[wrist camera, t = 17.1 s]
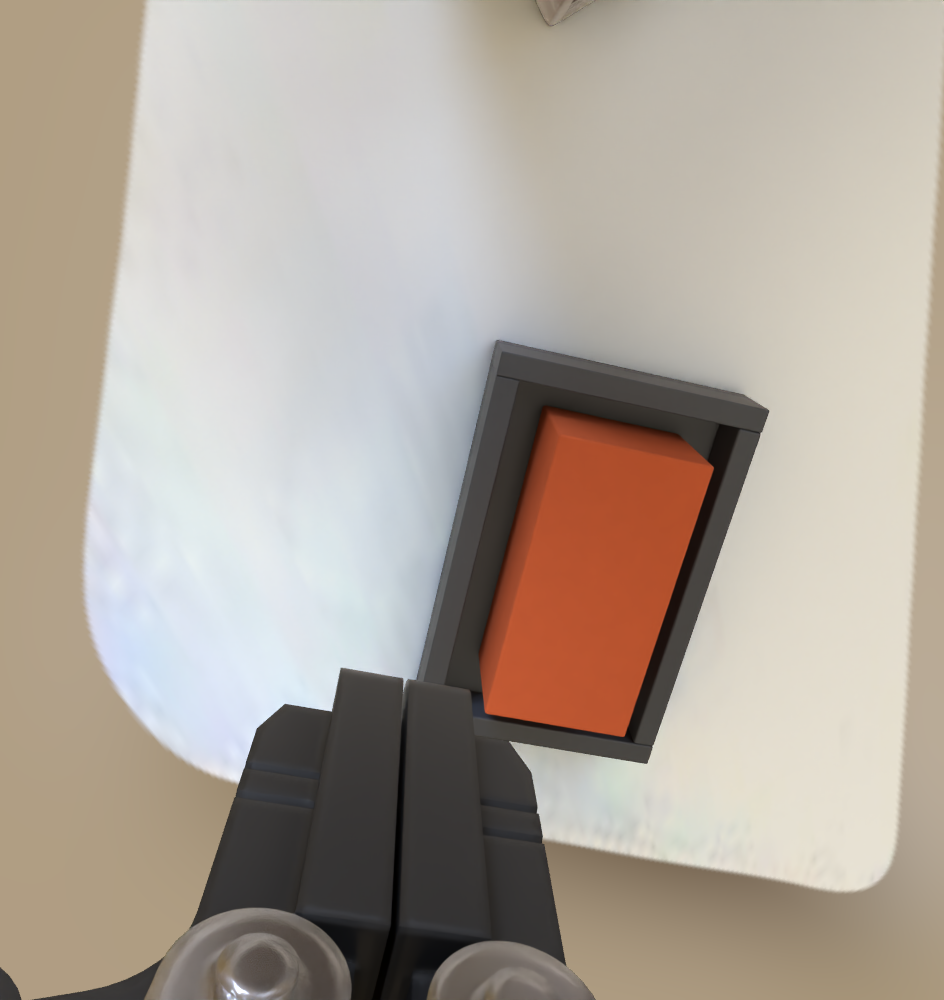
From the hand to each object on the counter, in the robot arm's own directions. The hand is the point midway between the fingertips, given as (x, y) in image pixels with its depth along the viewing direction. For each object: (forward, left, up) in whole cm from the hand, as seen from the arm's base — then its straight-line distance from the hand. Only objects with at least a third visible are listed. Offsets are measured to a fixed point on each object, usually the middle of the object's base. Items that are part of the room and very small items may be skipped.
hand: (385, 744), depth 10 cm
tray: (+5, +7, -21) cm, 23 cm away
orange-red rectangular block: (+5, +7, -20) cm, 22 cm away
